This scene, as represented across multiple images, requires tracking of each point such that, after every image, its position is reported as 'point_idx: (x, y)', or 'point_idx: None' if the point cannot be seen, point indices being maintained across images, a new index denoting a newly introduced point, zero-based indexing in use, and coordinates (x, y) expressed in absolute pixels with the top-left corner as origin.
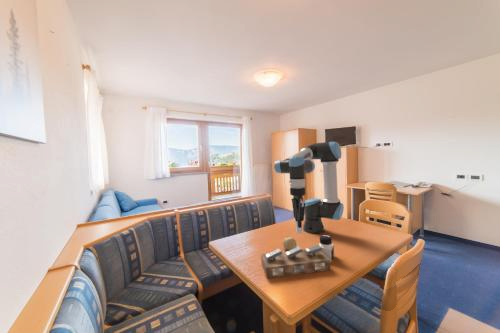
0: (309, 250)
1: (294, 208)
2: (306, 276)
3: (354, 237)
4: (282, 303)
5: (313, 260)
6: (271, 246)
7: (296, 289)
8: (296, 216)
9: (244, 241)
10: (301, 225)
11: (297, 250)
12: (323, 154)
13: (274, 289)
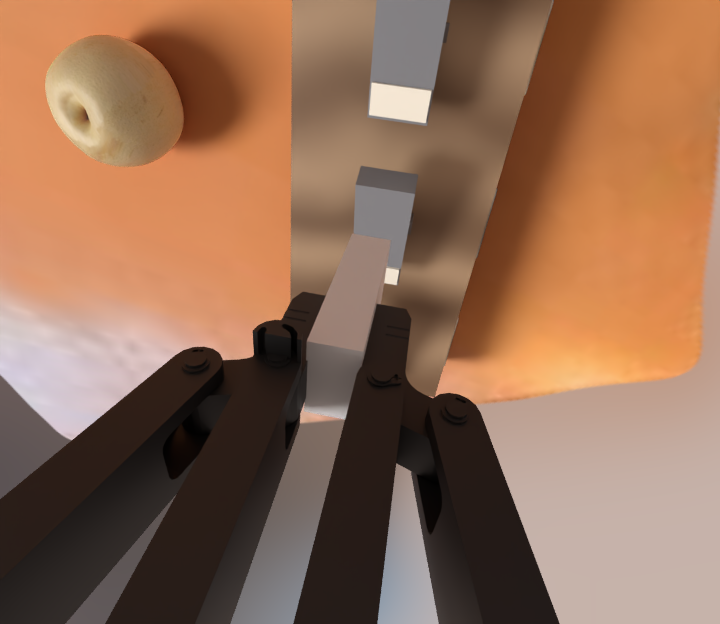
0: (421, 94)
1: (91, 573)
2: (524, 173)
3: None
4: (625, 370)
5: (500, 94)
6: (108, 213)
7: (588, 283)
8: (286, 454)
9: (47, 330)
10: (409, 331)
11: (407, 224)
12: None
13: (527, 361)
